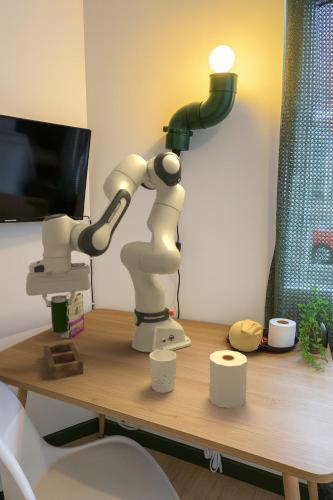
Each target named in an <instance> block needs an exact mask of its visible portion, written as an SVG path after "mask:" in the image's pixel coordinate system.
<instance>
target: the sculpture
mask: <svg viewBox="0 0 333 500" xmlns="http://www.w3.org/2000/svg"><path fill="white" fill-rule="evenodd" d="M263 333H264V327H263V325H262V324H260V323H259V322H257V321H254V320H251V319H244V320H239V321H237V322H235V323H234V324H232V325H231V327H230V329H229V333H228V339H229V342H230V346H231V347H232V348H234V349H236V350H238V351H241V352H244V353H245V352H246V353H250V352H254V351H255V350H258V349H259V347H260V346H259V344H260V345H261V343H262V342H261V341H262V339H263V336H264V335H263ZM258 346H259V347H258Z"/></svg>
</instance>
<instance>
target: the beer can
mask: <svg viewBox="0 0 333 500" xmlns="http://www.w3.org/2000/svg"><path fill="white" fill-rule="evenodd" d="M50 301H51V307H50V312H51V313H50V314H51V318H50V319H51V332H52V333H53V335H58V336H60V335H62V334H66V333H67V332H68V330H69V322H68V300H67V296H64V295H61V294H59V295H58V294H57V295H53V296H51V298H50Z"/></svg>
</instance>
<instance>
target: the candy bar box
mask: <svg viewBox="0 0 333 500" xmlns="http://www.w3.org/2000/svg"><path fill="white" fill-rule="evenodd" d="M83 293H84V291H82V292H81V291H75V296H74V298H73V300H72V305H68V322H69V330H68V332H67V333H66V334H62V335H59V338H60V339H61V338H62V339H68V340H69V339H72V338H74V337H75V336H77V335H78V334H80V333H81V332H83V331H85V316H84V314H85V313H84V298H83V295H84V294H83ZM64 296H67V299H69V298H70V296H71V293H70V292H68V293H67V294H65V295H64Z"/></svg>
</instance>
